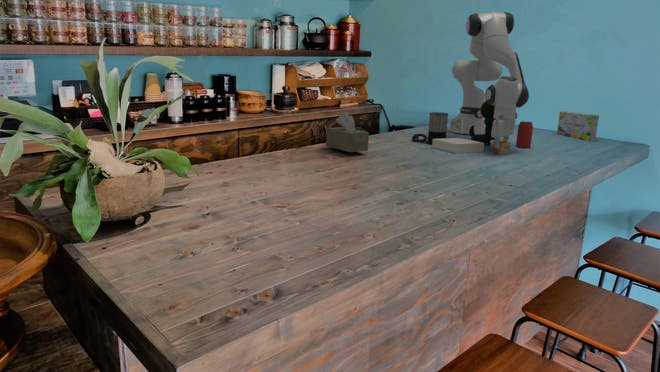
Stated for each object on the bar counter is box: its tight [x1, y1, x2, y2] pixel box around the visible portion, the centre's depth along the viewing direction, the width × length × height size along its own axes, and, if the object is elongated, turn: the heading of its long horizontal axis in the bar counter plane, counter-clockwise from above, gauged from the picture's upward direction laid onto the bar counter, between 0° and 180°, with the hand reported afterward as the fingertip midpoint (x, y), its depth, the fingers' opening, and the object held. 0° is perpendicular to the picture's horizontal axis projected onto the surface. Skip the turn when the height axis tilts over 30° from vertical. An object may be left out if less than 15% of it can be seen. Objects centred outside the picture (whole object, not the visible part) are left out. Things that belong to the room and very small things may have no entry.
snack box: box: [556, 110, 600, 142], centre depth 274 cm, size 21×6×15 cm, turn 25°
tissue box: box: [325, 111, 370, 153], centre depth 218 cm, size 19×10×16 cm, turn 33°
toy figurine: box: [468, 100, 496, 147], centre depth 243 cm, size 9×19×25 cm, turn 27°
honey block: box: [491, 140, 511, 155], centre depth 222 cm, size 5×5×5 cm
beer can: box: [515, 120, 534, 149], centre depth 242 cm, size 7×7×12 cm
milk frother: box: [411, 111, 449, 145], centre depth 244 cm, size 14×16×15 cm
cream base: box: [431, 137, 485, 154], centre depth 226 cm, size 16×16×4 cm
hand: (500, 146), depth 221 cm, fingers open, 8 cm apart
